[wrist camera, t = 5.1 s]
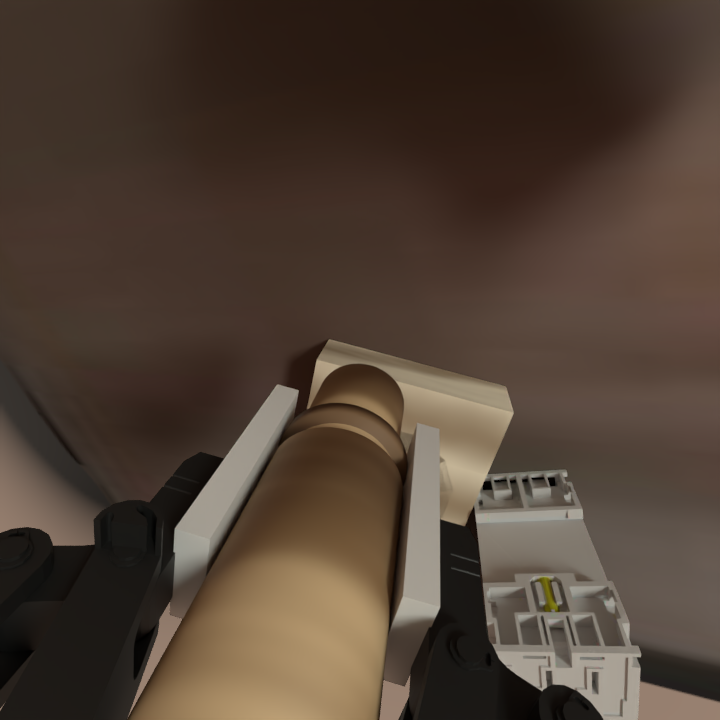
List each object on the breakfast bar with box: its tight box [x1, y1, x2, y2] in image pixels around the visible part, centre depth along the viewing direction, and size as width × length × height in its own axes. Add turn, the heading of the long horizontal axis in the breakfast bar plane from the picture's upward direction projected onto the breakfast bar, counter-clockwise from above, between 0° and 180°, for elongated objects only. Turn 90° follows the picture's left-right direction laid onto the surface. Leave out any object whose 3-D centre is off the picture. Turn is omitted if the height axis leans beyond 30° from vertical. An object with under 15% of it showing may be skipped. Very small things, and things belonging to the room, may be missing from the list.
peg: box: [127, 363, 408, 720], centre depth 12 cm, size 4×4×14 cm
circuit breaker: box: [474, 469, 641, 720], centre depth 33 cm, size 8×14×15 cm, turn 11°
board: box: [307, 339, 514, 526], centre depth 37 cm, size 18×14×4 cm
